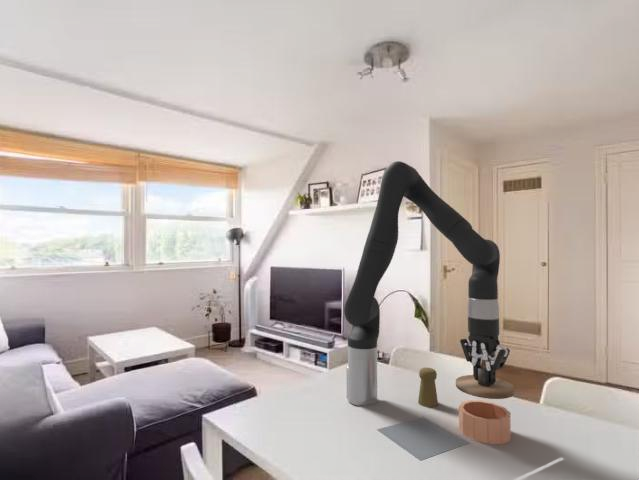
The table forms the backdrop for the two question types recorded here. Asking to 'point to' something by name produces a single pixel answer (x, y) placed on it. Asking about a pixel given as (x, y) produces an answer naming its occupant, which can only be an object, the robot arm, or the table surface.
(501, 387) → the lid
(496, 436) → the bowl
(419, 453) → the mat
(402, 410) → the table surface
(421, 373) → the cork
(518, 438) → the table surface
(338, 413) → the table surface
